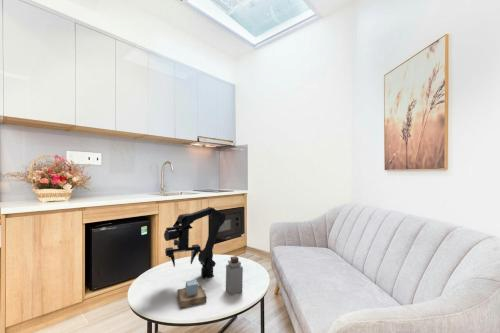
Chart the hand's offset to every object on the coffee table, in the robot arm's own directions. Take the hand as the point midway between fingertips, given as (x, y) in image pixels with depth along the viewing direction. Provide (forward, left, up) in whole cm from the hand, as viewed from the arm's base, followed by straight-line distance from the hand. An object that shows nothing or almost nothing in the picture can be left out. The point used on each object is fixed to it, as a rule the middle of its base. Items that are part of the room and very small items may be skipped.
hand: (182, 265), depth 127 cm
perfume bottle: (-24, +18, -11) cm, 32 cm away
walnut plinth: (-2, +16, -11) cm, 20 cm away
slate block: (-2, +16, -8) cm, 18 cm away
